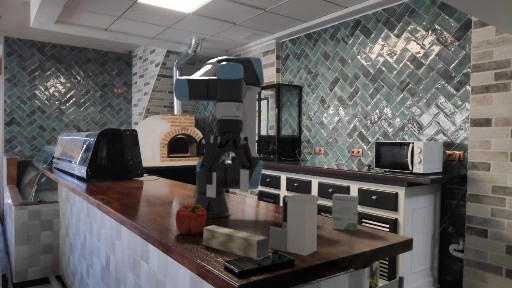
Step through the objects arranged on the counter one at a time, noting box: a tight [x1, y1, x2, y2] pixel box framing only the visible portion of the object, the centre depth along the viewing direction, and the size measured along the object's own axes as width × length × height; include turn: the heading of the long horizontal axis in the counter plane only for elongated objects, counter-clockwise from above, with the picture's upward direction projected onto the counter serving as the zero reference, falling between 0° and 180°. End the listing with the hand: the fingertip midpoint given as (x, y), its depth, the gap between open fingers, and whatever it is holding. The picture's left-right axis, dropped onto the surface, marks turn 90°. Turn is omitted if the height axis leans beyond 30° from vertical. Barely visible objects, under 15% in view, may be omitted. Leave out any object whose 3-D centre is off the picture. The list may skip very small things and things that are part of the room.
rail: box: [202, 225, 270, 258], centre depth 101 cm, size 21×4×5 cm, turn 51°
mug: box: [281, 195, 288, 223], centre depth 136 cm, size 9×12×9 cm
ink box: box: [331, 193, 359, 232], centre depth 127 cm, size 9×5×12 cm, turn 71°
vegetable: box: [175, 204, 207, 235], centre depth 118 cm, size 11×10×10 cm
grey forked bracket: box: [268, 193, 320, 256], centre depth 103 cm, size 12×8×15 cm, turn 51°
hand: (228, 194), depth 102 cm, fingers open, 13 cm apart
